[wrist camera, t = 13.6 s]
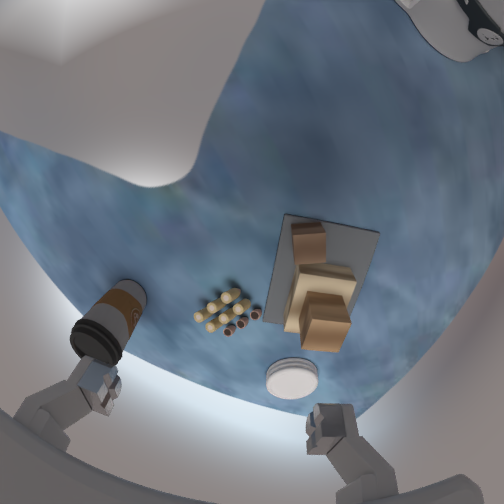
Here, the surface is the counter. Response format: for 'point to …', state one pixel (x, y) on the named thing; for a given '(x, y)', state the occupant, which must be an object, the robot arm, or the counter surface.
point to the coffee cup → (109, 323)
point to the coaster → (291, 378)
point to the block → (308, 243)
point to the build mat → (337, 253)
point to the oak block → (323, 322)
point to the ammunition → (227, 312)
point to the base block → (316, 288)
